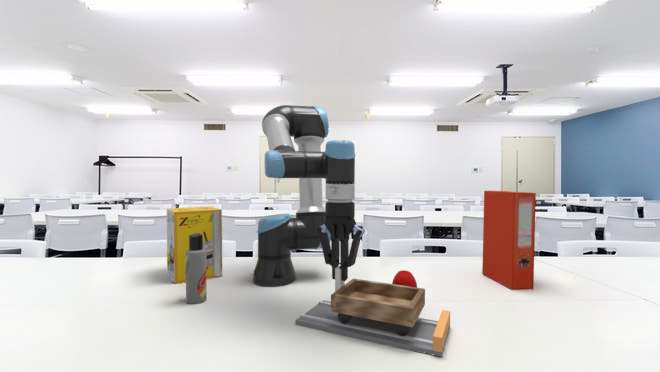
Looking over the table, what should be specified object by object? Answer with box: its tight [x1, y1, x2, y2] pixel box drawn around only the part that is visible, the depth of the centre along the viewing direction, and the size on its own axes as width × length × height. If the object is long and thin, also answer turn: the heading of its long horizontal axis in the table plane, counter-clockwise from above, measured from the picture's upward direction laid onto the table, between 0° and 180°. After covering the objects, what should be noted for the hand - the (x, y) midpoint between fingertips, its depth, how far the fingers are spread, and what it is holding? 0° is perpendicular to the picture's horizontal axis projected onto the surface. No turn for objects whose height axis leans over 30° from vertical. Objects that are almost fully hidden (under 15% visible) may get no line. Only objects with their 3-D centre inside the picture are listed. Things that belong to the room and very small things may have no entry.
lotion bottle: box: [185, 233, 208, 305], centre depth 99 cm, size 6×6×20 cm
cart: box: [330, 278, 426, 336], centre depth 82 cm, size 19×14×7 cm
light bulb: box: [391, 270, 418, 288], centre depth 94 cm, size 9×7×10 cm
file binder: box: [481, 190, 537, 291], centre depth 118 cm, size 8×17×32 cm, turn 5°
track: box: [295, 299, 451, 357], centre depth 82 cm, size 35×15×4 cm, turn 64°
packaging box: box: [166, 206, 223, 285], centre depth 126 cm, size 16×16×25 cm
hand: (339, 292), depth 86 cm, fingers closed
